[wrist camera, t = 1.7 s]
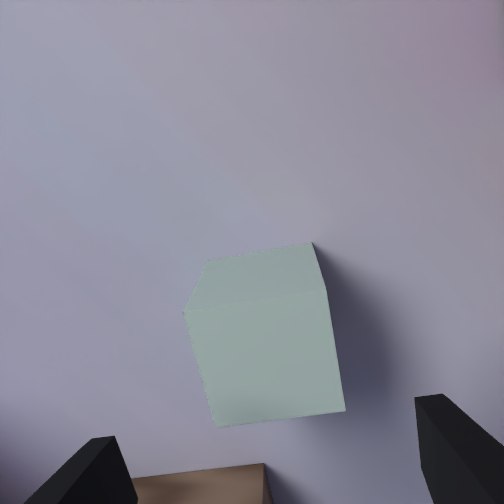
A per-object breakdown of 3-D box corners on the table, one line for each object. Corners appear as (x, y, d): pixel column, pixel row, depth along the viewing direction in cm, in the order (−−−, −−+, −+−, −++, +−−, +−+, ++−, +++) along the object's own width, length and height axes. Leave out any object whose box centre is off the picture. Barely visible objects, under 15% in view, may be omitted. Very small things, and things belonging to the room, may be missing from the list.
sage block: (230, 349, 18) (215, 427, 14) (208, 260, 17) (182, 312, 12) (326, 335, 18) (345, 411, 13) (311, 241, 17) (326, 288, 12)
